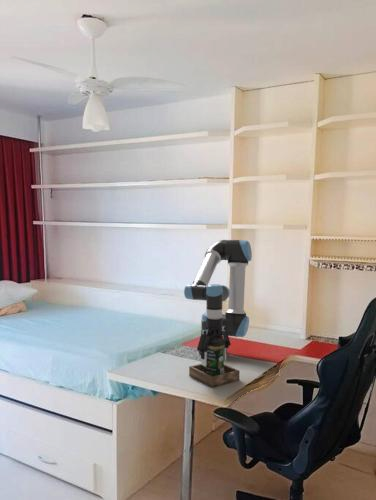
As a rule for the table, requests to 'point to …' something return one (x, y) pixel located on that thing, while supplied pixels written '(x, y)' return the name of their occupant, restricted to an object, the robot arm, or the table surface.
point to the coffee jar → (215, 357)
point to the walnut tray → (215, 381)
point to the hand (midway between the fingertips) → (214, 363)
